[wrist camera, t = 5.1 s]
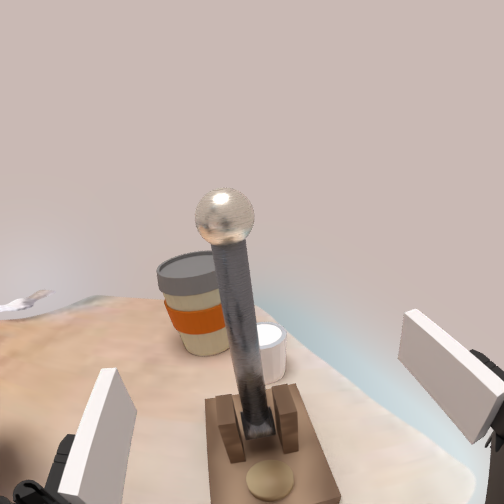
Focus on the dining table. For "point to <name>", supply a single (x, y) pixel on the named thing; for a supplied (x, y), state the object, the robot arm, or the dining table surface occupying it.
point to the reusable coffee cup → (194, 302)
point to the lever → (237, 300)
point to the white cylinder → (272, 350)
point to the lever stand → (267, 454)
